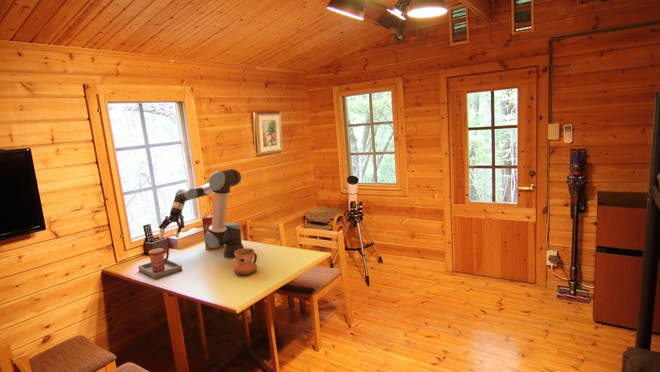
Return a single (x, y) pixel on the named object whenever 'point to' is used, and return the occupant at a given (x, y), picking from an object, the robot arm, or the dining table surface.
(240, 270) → the ceramic jug
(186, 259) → the dining table surface
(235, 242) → the robot arm
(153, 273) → the tray
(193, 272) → the dining table surface
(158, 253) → the mug
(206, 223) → the food packaging
